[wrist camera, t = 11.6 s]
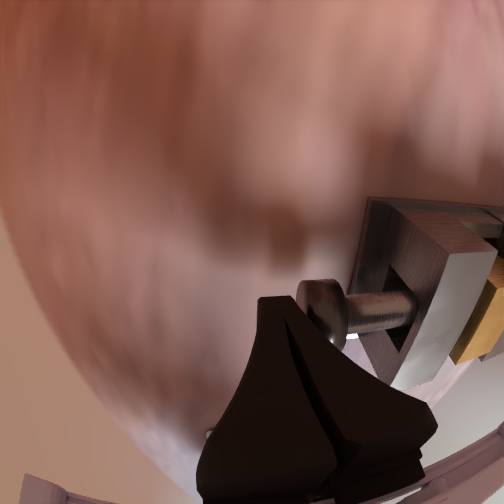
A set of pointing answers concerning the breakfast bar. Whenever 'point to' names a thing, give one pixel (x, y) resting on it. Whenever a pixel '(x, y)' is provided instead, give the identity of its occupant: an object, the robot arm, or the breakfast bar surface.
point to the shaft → (354, 309)
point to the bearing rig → (425, 279)
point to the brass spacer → (483, 319)
